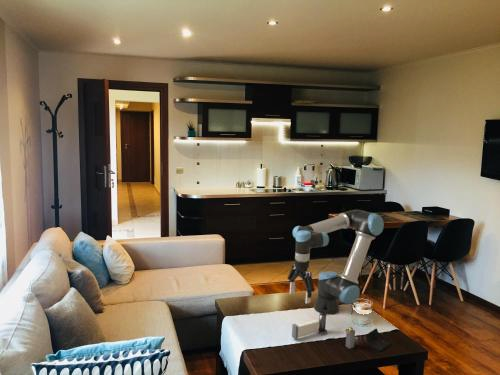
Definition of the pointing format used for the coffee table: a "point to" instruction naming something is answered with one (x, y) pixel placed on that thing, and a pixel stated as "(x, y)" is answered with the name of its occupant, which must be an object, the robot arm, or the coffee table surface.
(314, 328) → the gate
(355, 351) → the coffee table surface
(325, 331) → the hinge post
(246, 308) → the coffee table surface
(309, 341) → the coffee table surface
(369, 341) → the black angled block
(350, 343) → the stile post
